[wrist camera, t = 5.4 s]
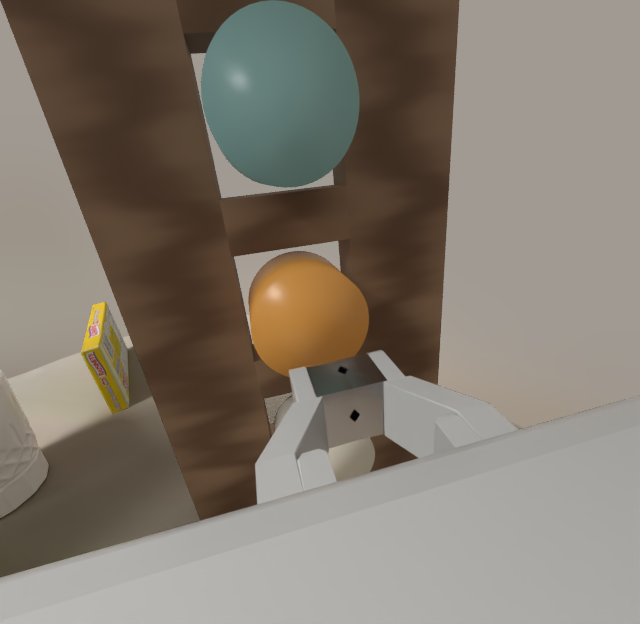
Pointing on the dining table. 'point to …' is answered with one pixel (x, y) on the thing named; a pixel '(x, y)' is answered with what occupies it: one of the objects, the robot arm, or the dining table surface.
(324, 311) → the orange button
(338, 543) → the robot arm
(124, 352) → the candy box
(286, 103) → the teal button
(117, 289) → the button panel
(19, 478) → the white cup
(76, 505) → the dining table surface
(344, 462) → the cream button
